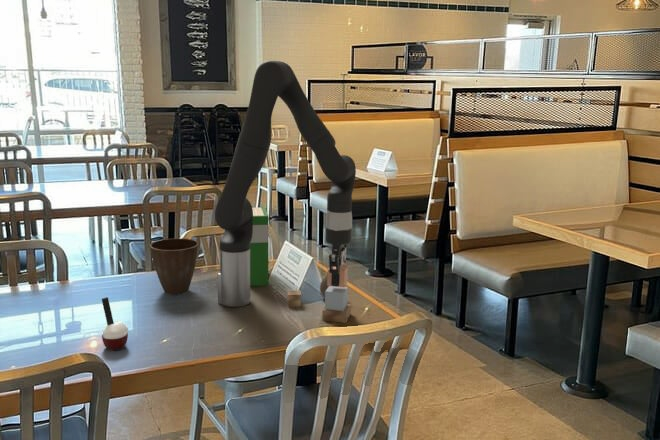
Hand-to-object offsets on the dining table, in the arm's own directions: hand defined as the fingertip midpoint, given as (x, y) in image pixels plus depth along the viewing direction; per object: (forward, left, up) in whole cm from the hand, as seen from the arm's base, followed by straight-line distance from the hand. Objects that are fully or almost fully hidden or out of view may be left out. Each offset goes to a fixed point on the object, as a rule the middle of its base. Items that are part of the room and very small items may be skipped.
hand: (337, 282), depth 182 cm
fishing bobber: (-51, -35, -11) cm, 63 cm away
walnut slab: (0, 0, -11) cm, 11 cm away
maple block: (-15, +7, -11) cm, 20 cm away
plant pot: (-55, +8, -11) cm, 57 cm away
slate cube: (0, 0, -8) cm, 8 cm away
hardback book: (-35, +29, -11) cm, 47 cm away
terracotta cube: (0, 0, 0) cm, 0 cm away
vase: (-5, +15, -11) cm, 19 cm away
